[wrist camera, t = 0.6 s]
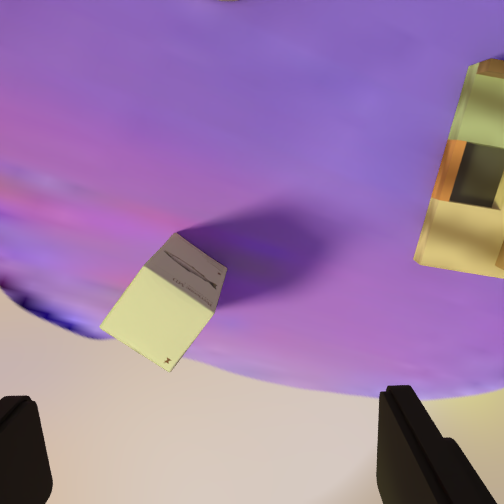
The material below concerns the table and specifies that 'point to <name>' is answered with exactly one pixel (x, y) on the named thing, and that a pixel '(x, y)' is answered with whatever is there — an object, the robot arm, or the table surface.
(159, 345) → the supplement box
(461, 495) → the robot arm
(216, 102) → the table surface
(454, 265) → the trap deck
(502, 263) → the walnut block
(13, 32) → the table surface
